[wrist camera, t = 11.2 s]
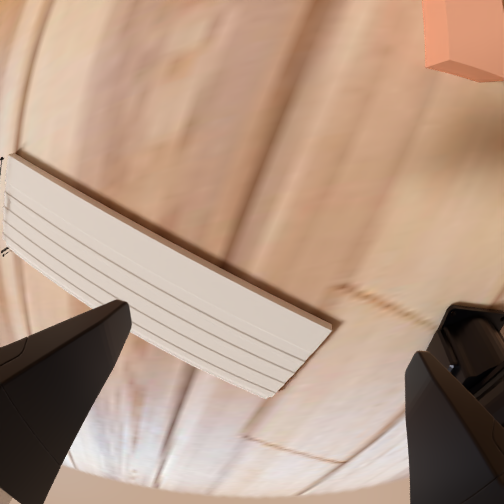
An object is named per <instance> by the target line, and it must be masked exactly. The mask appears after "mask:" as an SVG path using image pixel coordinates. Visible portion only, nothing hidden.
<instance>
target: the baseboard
mask: <svg viewBox="0 0 504 504" xmlns="http://www.w3.org/2000/svg"><path fill="white" fill-rule="evenodd" d="M3 159H4V158H3V157H1V159H0V160H1V165H2V160H3ZM0 174H1V168H0ZM5 181H6V185H5V192H4V196H5V198H4V206H3V211H4V217H3V240H5V241H6V246H7V247H8V249H10V250H12V251H13V252H14V253H15V254H17V255H18V256H19V257H21V258H22V259H23V260H24V261H26V262H27V263H28V264H30V265H31V266H32V267H33V268H35V269H36V270H37V271H39V272H40V273H42V274H43V275H44V276H46V277H47V278H48V279H50V280H51V281H53V282H54V283H55V284H57V285H58V286H60V287H61V288H62V289H64V290H65V291H67V292H68V293H70V294H71V295H73V296H74V297H76V298H77V299H79V300H80V301H82V302H83V303H85V304H86V305H88V306H89V307H91V308H92V309H94V308H97V307H99V306H101V305H104V304H106V303H108V302H111V301H113V300H116V299H118V300H122V301H126V302H128V304H129V307H130V313H131V319H132V327H131V330H130V332H131V333H133V334H135V335H136V336H138V337H140V338H142V339H143V340H145V341H147V342H149V343H151V344H152V345H154V346H156V347H158V348H160V349H161V350H163V351H165V352H167V353H169V354H171V355H173V356H175V357H177V358H178V359H180V360H182V361H184V362H186V363H188V364H190V365H192V366H194V367H196V368H198V369H200V370H202V371H204V372H206V373H209V374H211V375H213V376H215V377H217V378H219V379H221V380H223V381H226V382H228V383H230V384H232V385H234V386H237V387H239V388H241V389H243V390H246V391H248V392H250V393H253V394H255V395H257V396H260V397H262V398H265V399H267V398H268V397H273V396H274V395H275V394H276V392H277V391H278V390H279V389H280V388H281V387H282V386H283V385H284V384H285V383H286V381H287V380H288V379H289V378H290V377H292V376H293V375H294V373H295V372H296V371H297V370H298V368H299V367H300V366H301V365H303V364H304V362H305V361H306V360H307V358H308V357H309V356H310V355H311V354H312V353H313V352H314V351H315V350H316V349H317V348H318V347H319V345H320V344H321V343H322V342H323V341H324V340H325V338H326V337H327V336H328V335H329V334H330V333H331V331H332V324H330V323H328V322H326V321H324V320H322V319H320V318H318V317H316V316H314V315H312V314H310V313H308V312H306V311H304V310H302V309H300V308H298V307H296V306H294V305H292V304H290V303H288V302H286V301H284V300H282V299H280V298H278V297H276V296H274V295H272V294H270V293H268V292H266V291H264V290H262V289H260V288H258V287H256V286H254V285H252V284H250V283H248V282H246V281H245V280H243V279H241V278H239V277H237V276H235V275H233V274H231V273H229V272H227V271H225V270H223V269H221V268H219V267H218V266H216V265H214V264H212V263H210V262H208V261H206V260H204V259H202V258H200V257H199V256H197V255H195V254H193V253H191V252H189V251H187V250H185V249H184V248H182V247H180V246H178V245H176V244H174V243H172V242H170V241H169V240H167V239H165V238H163V237H161V236H159V235H158V234H156V233H154V232H152V231H150V230H148V229H146V228H145V227H143V226H141V225H139V224H137V223H136V222H134V221H132V220H130V219H128V218H126V217H125V216H123V215H121V214H119V213H117V212H116V211H114V210H112V209H110V208H108V207H107V206H105V205H103V204H101V203H100V202H98V201H96V200H94V199H92V198H91V197H89V196H87V195H85V194H84V193H82V192H80V191H78V190H77V189H75V188H73V187H71V186H70V185H68V184H66V183H64V182H63V181H61V180H59V179H58V178H56V177H54V176H52V175H51V174H49V173H47V172H46V171H44V170H42V169H40V168H39V167H37V166H35V165H34V164H32V163H30V162H29V161H27V160H25V159H23V158H22V157H20V156H18V155H17V154H15V153H13V154H9V155H8V161H7V169H6V178H5ZM4 251H6V249H4V250H2V251H1V253H3V252H4ZM7 253H8V252H7ZM7 253H6V254H7ZM4 255H5V254H3V257H4Z"/></svg>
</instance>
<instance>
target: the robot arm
mask: <svg viewBox="0 0 504 504" xmlns="http://www.w3.org/2000/svg"><path fill="white" fill-rule="evenodd" d="M453 311H454V312H453ZM451 312H453V313H451ZM501 317H502V318H501ZM503 325H504V312H503V311H496V310H488V309H480V308H471V307H464V306H456V305H452V306H450V307H449V308H448V309H447V310H446V313H445V315H444V317H443V319H442V321H441V323H440V326H439V328H438V330H437V331H436V332H435V334H434V336H433V338H432V340H431V342H430V344H429V346H428V348H427V350H426V351H417V352H416V353H415V354H414V356H413V358H412V360H411V362H410V363H409V365H408V367H407V369H406V372H405V415H406V429H407V440H408V453H409V471H410V504H504V338H503V336H502V334H501V333H500V330H501V328H502V326H503ZM131 327H132V319H131V313H130V307H129V304H128V302H126V301H122V300H118V299H116V300H113V301H111V302H108V303H106V304H104V305H101V306H99V307H97V308H94V309H92V310H89V311H87V312H85V313H82V314H80V315H77V316H75V317H73V318H70V319H68V320H66V321H63V322H61V323H59V324H56V325H54V326H51V327H49V328H47V329H44V330H42V331H40V332H37V333H35V334H33V335H30V336H29V337H25V338H23V339H21V340H19V341H16V342H14V343H11V344H9V345H6V346H3V347H0V504H9V503H10V501H11V499H12V498H14V499H15V500H17V501H18V502H19V503H21V504H43V503H44V501H45V499H46V497H47V494H48V492H49V490H50V488H51V486H52V484H53V482H54V479H55V477H56V475H57V474H58V471H59V469H60V466H61V465H62V463H63V461H64V459H65V457H66V455H67V453H68V451H69V449H70V447H71V445H72V443H73V441H74V439H75V437H76V435H77V434H78V432H79V430H80V428H81V426H82V424H83V422H84V420H85V418H86V417H87V415H88V413H89V411H90V409H91V407H92V406H93V404H94V402H95V400H96V398H97V396H98V395H99V393H100V391H101V389H102V387H103V386H104V384H105V382H106V380H107V379H108V377H109V375H110V373H111V372H112V370H113V368H114V366H115V364H116V362H117V360H118V357H119V355H120V353H121V350H122V348H123V346H124V344H125V341H126V339H127V337H128V335H129V332H130V330H131Z"/></svg>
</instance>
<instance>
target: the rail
mask: <svg viewBox="0 0 504 504" xmlns="http://www.w3.org/2000/svg"><path fill="white" fill-rule="evenodd" d="M422 7H423V19H424V34H425V61H426V68H429V69H434V70H438V71H442V72H446V73H449V74H453V75H457V76H460V77H463V78H467V79H470V80H473V81H476V82H490V81H504V10H503V4H502V0H422Z"/></svg>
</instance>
